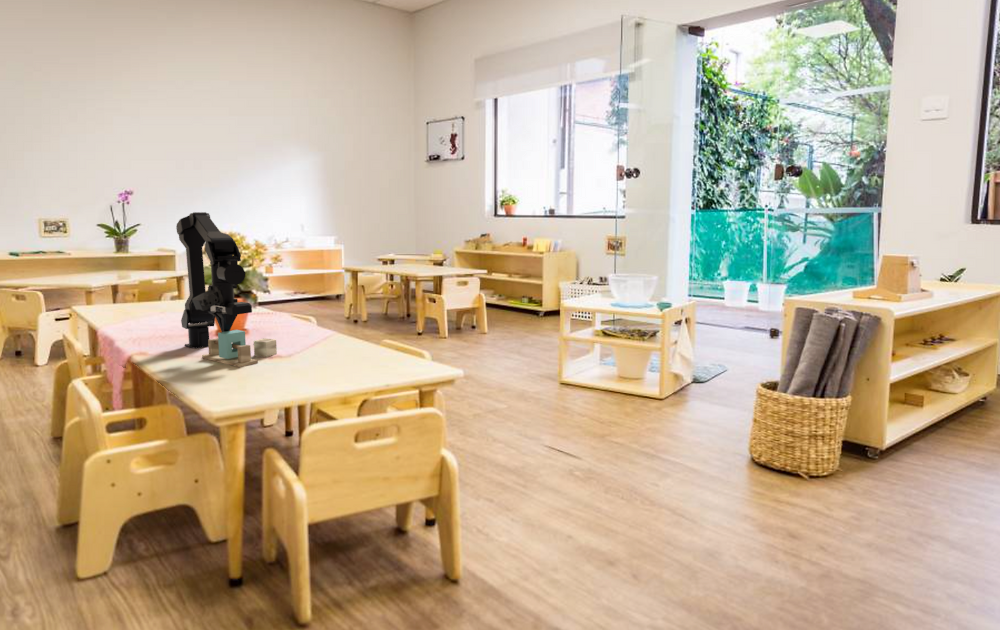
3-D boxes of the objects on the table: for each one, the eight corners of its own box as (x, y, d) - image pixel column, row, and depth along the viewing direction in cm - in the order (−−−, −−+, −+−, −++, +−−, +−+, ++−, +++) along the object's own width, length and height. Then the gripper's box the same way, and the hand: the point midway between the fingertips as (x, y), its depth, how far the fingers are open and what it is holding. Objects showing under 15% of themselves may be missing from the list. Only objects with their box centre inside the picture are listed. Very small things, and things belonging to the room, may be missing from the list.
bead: (219, 356, 198) (217, 332, 197) (237, 353, 203) (236, 329, 201) (227, 358, 195) (226, 334, 194) (246, 355, 200) (245, 331, 199)
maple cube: (254, 355, 207) (253, 341, 206) (264, 352, 211) (263, 338, 210) (266, 357, 205) (266, 342, 205) (276, 354, 209) (276, 339, 209)
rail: (202, 357, 203) (201, 340, 202) (221, 354, 208) (220, 337, 207) (239, 366, 193) (238, 348, 192) (257, 363, 197) (257, 345, 197)
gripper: (177, 281, 196) (180, 335, 199) (215, 286, 185) (218, 344, 188) (213, 278, 205) (216, 330, 208) (252, 283, 194) (254, 337, 197)
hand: (225, 335), depth 200 cm, fingers closed
